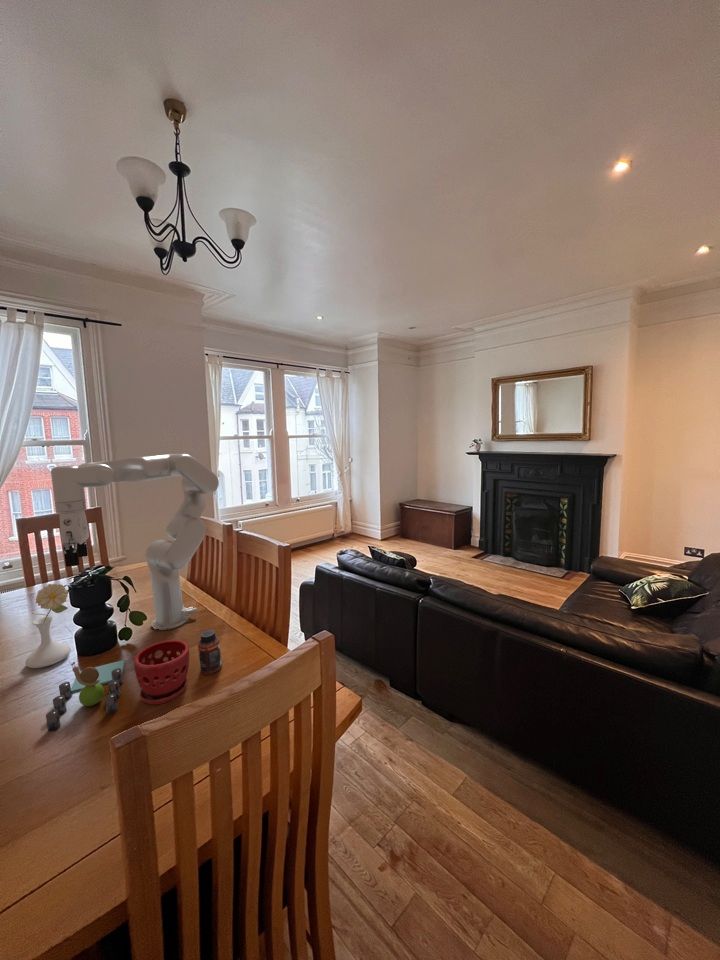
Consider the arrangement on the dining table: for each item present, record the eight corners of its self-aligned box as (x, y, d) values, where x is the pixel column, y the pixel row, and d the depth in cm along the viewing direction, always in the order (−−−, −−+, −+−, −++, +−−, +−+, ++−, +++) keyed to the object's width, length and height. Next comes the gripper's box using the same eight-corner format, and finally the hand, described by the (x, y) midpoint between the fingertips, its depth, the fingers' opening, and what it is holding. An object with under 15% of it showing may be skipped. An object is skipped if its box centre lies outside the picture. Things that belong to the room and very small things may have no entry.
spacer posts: (123, 680, 111) (121, 667, 111) (117, 712, 98) (115, 697, 98) (62, 697, 105) (60, 683, 104) (47, 733, 92) (44, 718, 92)
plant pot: (157, 716, 96) (151, 672, 95) (129, 698, 103) (123, 657, 102) (202, 685, 107) (198, 645, 106) (174, 671, 114) (170, 634, 113)
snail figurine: (84, 697, 104) (78, 656, 103) (109, 695, 105) (103, 654, 103) (71, 712, 99) (64, 669, 97) (97, 709, 99) (91, 666, 98)
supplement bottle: (226, 664, 117) (223, 629, 115) (212, 676, 111) (209, 640, 110) (210, 661, 119) (206, 626, 117) (196, 673, 113) (192, 637, 111)
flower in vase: (20, 676, 115) (7, 597, 112) (32, 657, 125) (19, 584, 122) (74, 662, 121) (62, 587, 118) (80, 645, 131) (70, 575, 128)
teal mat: (124, 661, 120) (124, 659, 120) (120, 679, 112) (120, 677, 111) (78, 673, 115) (77, 671, 115) (70, 693, 106) (70, 691, 106)
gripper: (77, 509, 110) (84, 567, 112) (92, 501, 126) (98, 552, 128) (45, 512, 107) (52, 571, 109) (64, 503, 123) (71, 555, 125)
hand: (77, 561), depth 119 cm, fingers open, 9 cm apart
